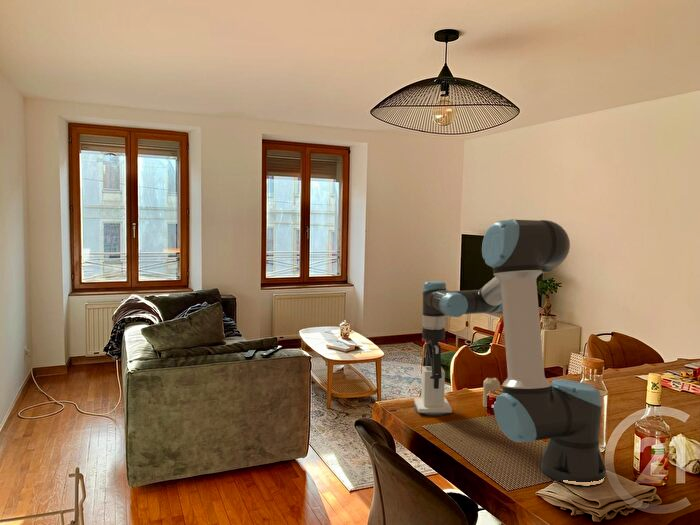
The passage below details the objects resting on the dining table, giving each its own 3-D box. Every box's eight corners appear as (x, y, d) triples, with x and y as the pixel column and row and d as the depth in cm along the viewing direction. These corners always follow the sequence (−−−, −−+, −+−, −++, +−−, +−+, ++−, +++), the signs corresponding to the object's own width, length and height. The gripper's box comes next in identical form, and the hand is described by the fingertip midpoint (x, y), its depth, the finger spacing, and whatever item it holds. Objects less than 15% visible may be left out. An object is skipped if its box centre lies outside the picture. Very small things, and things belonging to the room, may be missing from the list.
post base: (453, 415, 173) (454, 392, 172) (416, 416, 173) (417, 392, 172) (446, 403, 185) (446, 380, 184) (411, 403, 185) (412, 380, 184)
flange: (452, 412, 173) (452, 373, 172) (418, 412, 173) (419, 373, 172) (445, 401, 184) (446, 364, 183) (413, 401, 184) (414, 364, 183)
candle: (497, 403, 185) (498, 375, 184) (500, 409, 179) (501, 380, 178) (481, 403, 185) (482, 375, 184) (484, 408, 180) (484, 380, 179)
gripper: (452, 334, 165) (450, 403, 167) (438, 320, 188) (437, 381, 190) (428, 334, 165) (426, 403, 167) (417, 320, 188) (416, 381, 190)
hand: (432, 391), depth 178 cm, fingers open, 10 cm apart
